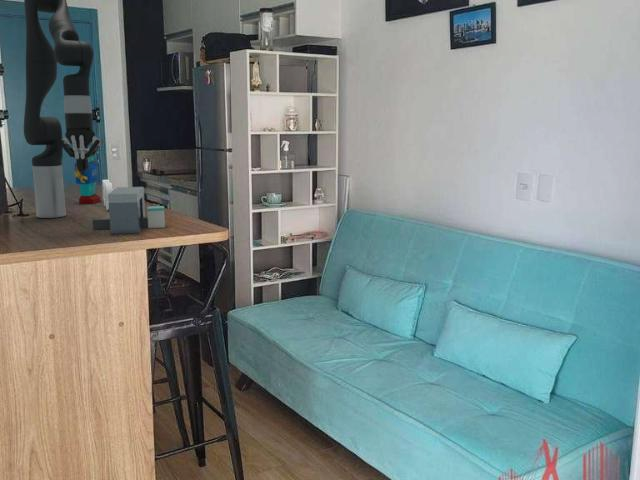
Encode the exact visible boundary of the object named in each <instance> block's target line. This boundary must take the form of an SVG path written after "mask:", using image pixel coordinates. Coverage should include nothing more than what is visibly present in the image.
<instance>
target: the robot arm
mask: <svg viewBox="0 0 640 480" xmlns="http://www.w3.org/2000/svg"><path fill="white" fill-rule="evenodd" d="M23 1H24V15H25V33H26V34H25V104H24V105H25V106H24V117H23V136H24V140H25V142H26V143H27V144H28V145H31V146H45V149H44V150H43V151H42V152H41V153H39V154H37V155H35V156H33V157H32V158H31V166H32V176H33V189H34V199H35V211H36V212H35V213H36V217H37V218H40V219H42V218H44V219H48V218H49V219H50V218H53V219H54V218H60V217H65V216H67V214H66V213H67V211H66V197H65V185H64V174H63V173H64V172H63V170H64V169H63V158H64V157H63V154H64V153H63V150H64V151H65V152H66V153H67V155H68V156H69V157H70V158H74V159H75V163H76V162H77V169H78V170H79V172H86V171H87V170H88V158H89V157H92V156H94V157H95V154H96V153H97V151H98V150H99V148H100V147H101V146H102V144H103V141H104V140H102V139H100V138H98V137H97V136H96V134H95V132H94V123H93V122H94V121H93V107H92V106H93V105H92V100H91V96H90V95H91V92H90V77H91V76H90V74H91V69H92V65H93V60H94V50H93V47H92V45H91V44H90V43H89V42H88V41H83V40H80V36H79V34H78V32H77V29H76V28H75V26H74V23H73V22H72V19H71V15H70V11H69V6H68V3H67V0H23ZM39 12H41V13H42V12H43V13H48V14H52V16H51V17H50V19H49V20H48V30H49V33H50V35H51V38H52V41H53V43H54V47H53V46H52V45H51V43H50V41H49V40H48V38H47V36H46V35H45V33H44V31H43V28H42V27H41V24H40V20H39V14H38V13H39ZM58 64H59V65H61V66H65V67H79V68H78V71H77V72H76V73H72V74H71V73H70V74H66V75H65V76H64V77H63V78H62V84H63V85H62V86H63V97H64V98H63V99H64V100H63V111H64V122H65V129H66V131H65V134H64V135H65V136H64V137H63V127H62V124H61V122H60V120H59V118H57V117H56V116H41V109H42V105H43V102H44V100H45V98H46V96H47V95H48V93H49V92H50V90H51V89H52V88H53V86H54V84H55V83H56V81H57V75H58ZM70 144H71V145H70ZM91 144H92V145H91ZM90 145H91V146H90Z"/></svg>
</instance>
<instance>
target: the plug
mask: <svg viewBox="0 0 640 480" xmlns="http://www.w3.org/2000/svg"><path fill="white" fill-rule="evenodd" d="M146 209H147V211H146V213H147V216H145V217H141V229H143V228H144V229H145V228H146V229H147V228H148V229H158V228H161V229H162V228H166V218H165V217H166V216H165V206H164V205H157V206H156V205H153V206H152V205H151V206H147V208H146ZM96 230H97V231H99V230H110V217H99V218H97V217H96V218H92V231H96Z"/></svg>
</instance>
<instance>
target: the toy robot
mask: <svg viewBox="0 0 640 480" xmlns="http://www.w3.org/2000/svg"><path fill="white" fill-rule="evenodd" d="M98 173H99V171H98V162H97V161H96V160H95V155H94V156H92V157H89V158H88V170H87V171H86V172H79V170H78V169H77V162H76V161H75V163H74V177H75V183H76V184H79V187H80V188H79V189H80V197H79V198H78V203H79V204H80V205H94V204H96V203H99V202H101V200H102V199H101V196H99V195H98V194H97V193H96V185H95V184H96V182H98V181H99V176H98V175H99V174H98Z"/></svg>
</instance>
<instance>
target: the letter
mask: <svg viewBox="0 0 640 480" xmlns="http://www.w3.org/2000/svg"><path fill="white" fill-rule="evenodd" d="M101 187H102V201H103V206H104V207H105V208H106V209H105V210H106V211H108V212H109V201H108V194H109V193H110V192H112V191H113V190H114V189H113V184H112V182H110V180H109V179H102V182H101Z"/></svg>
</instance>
